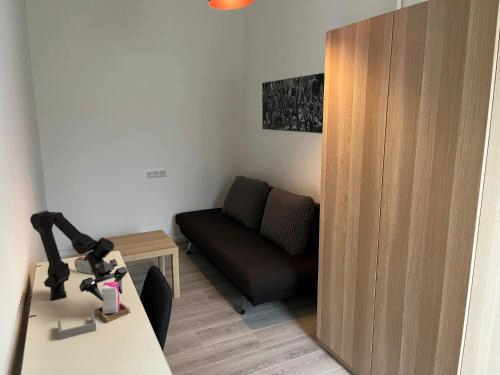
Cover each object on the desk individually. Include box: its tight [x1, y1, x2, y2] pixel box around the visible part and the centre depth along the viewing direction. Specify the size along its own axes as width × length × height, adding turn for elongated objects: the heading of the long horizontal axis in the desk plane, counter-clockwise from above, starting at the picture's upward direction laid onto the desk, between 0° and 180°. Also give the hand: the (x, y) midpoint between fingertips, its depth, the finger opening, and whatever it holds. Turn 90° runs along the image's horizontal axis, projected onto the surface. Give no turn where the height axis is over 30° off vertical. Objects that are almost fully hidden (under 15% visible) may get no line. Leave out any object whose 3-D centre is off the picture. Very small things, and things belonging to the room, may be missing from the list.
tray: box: [94, 302, 131, 324], centre depth 152 cm, size 10×10×2 cm
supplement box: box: [101, 281, 121, 315], centre depth 151 cm, size 6×6×12 cm
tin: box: [74, 255, 94, 275], centre depth 193 cm, size 15×3×8 cm, turn 71°
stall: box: [57, 312, 97, 340], centre depth 141 cm, size 9×13×3 cm
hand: (112, 296), depth 150 cm, fingers closed on supplement box, 8 cm apart
